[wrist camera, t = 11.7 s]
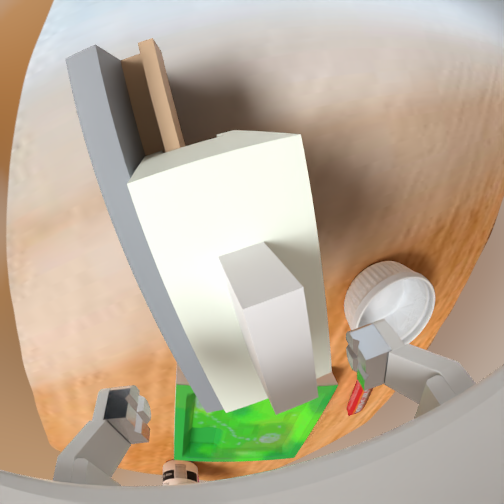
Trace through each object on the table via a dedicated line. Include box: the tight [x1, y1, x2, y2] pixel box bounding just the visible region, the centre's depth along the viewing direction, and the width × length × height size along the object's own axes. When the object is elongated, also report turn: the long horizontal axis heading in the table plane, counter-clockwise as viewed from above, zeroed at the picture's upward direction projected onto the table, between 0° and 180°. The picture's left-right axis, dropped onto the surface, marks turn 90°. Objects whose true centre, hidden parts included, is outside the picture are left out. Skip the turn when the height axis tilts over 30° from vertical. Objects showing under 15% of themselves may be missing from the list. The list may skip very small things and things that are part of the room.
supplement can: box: [163, 460, 199, 485], centre depth 51 cm, size 8×8×15 cm
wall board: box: [66, 38, 223, 413], centre depth 26 cm, size 30×9×16 cm, turn 13°
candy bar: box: [347, 379, 373, 416], centre depth 52 cm, size 16×4×3 cm, turn 179°
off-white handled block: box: [127, 130, 332, 415], centre depth 18 cm, size 14×7×16 cm, turn 13°
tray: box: [174, 363, 338, 462], centre depth 49 cm, size 25×25×5 cm
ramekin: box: [344, 261, 435, 345], centre depth 40 cm, size 13×13×7 cm
